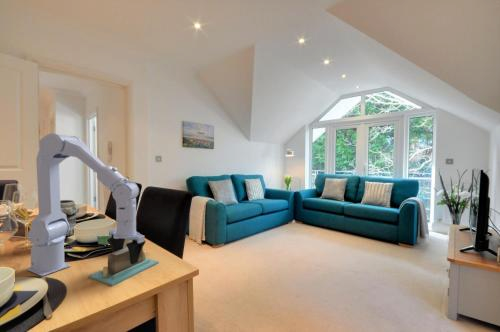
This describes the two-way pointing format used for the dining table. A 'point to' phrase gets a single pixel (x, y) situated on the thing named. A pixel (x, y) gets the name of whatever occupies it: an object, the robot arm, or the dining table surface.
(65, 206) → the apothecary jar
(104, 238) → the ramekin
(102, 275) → the light blue peg board
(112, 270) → the walnut frame
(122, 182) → the robot arm
